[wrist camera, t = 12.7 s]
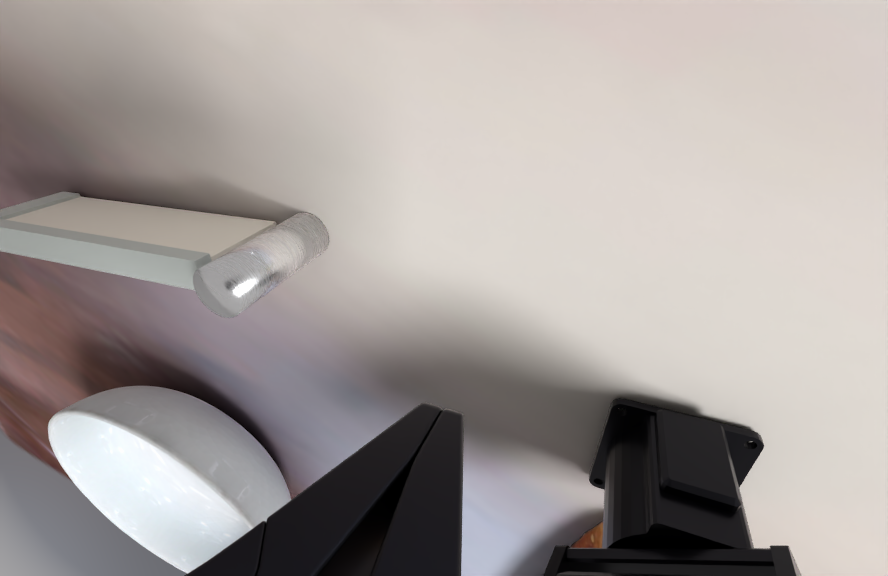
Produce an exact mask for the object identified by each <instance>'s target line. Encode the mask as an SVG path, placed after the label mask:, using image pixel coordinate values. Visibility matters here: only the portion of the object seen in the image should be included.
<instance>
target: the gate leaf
mask: <svg viewBox="0 0 888 576" xmlns="http://www.w3.org/2000/svg"><path fill="white" fill-rule="evenodd" d="M276 225H277V224H276V222H275V221H267V220H259V219H251V218H243V217H236V216H228V215H220V214H212V213H204V212H197V211H189V210H181V209H173V208H165V207H158V206H150V205H142V204H134V203H126V202H119V201H111V200H103V199H95V198H87V197H81V196H80V194H78V193H70V192H59V193H56V194H52V195H49V196H45V197H42V198H38V199H35V200H31V201H28V202H24V203H21V204H17V205H14V206H10V207H7V208H3V209H0V251H3V252H7V253H12V254H17V255H22V256H27V257H32V258H37V259H42V260H47V261H52V262H57V263H62V264H67V265H72V266H77V267H82V268H87V269H92V270H97V271H101V272H106V273H111V274H116V275H121V276H126V277H131V278H136V279H141V280H146V281H151V282H156V283H161V284H166V285H171V286H176V287H181V288H186V289H190V290H195V289H194V286H193V275H194V273H195V271H196V270H198V269H199V268H201V267H203V266H205V265H206V264H208V263H210V262H212V261H214V260H215V259H217V258H219V257H221V256H222V255H224V254H226V253H228V252H230V251H231V250H233V249H235V248H237V247H239V246H240V245H242V244H244V243H246V242H248V241H249V240H251V239H253V238H255V237H256V236H258V235H260V234H262V233H264V232H265V231H267V230H269V229H271V228H273V227H274V226H276Z"/></svg>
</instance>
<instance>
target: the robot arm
mask: <svg viewBox="0 0 888 576" xmlns="http://www.w3.org/2000/svg"><path fill="white" fill-rule="evenodd" d="M618 408H624V409H625V410H620V409H618ZM747 441H753V442H750V443H749V442H747ZM463 442H464V415H463V413H461V412H458V411H454V410H451V409H447V408H446V409H444V410H443V408H442V407H440V406H437V405H434V404H430V403H426V402H425V403H421V404H420V405H418V406H417V407H416V408H414V409H413V410H412V411H410V412H409V413H408V414H406V415H405V416H404V417H402V418H401V419H400V420H398V421H397V422H396V423H394V424H393V425H392V426H390V427H389V428H388V429H386V430H385V431H383V432H382V433H381V434H379V435H378V436H377V437H375V438H374V439H373V440H371V441H370V442H369V443H367V444H366V445H365V446H363V447H362V448H361V449H359V450H358V451H357V452H355V453H354V454H353V455H351V456H350V457H348V458H347V459H346V460H344V461H343V462H342V463H340V464H339V465H338V466H336V467H335V468H334V469H332V470H331V471H330V472H328V473H327V474H326V475H324V476H323V477H322V478H320V479H319V480H318V481H316V482H315V483H313V484H312V485H311V486H309V487H308V488H307V489H305V490H304V491H303V492H301V493H300V494H299V495H297V496H296V497H295V498H293V499H292V500H291V501H289V502H288V503H287V504H285V505H284V506H283V507H281V508H280V509H278V510H277V511H276V512H274V513H273V514H272V515H270V516H269V517H268V518H267V521H262V522H261V523H259V524H258V525H257V526H255V527H254V528H253V529H251V530H250V531H249V532H247V533H246V534H245V535H243V536H242V537H240V538H239V539H238V540H236V541H235V542H233V543H232V544H231V545H229V546H228V547H226V548H225V549H223V550H222V551H221V552H219V553H218V554H216V555H215V556H214V557H212V558H211V559H209V560H208V561H206V562H205V563H203V564H202V565H200V566H199V567H197V568H196V569H194V570H192V571H191V572H189V573H188V574H186V575H185V576H461V548H462V495H463ZM763 448H764V444H763V441H762V438H761V436H760V435H759V434H758V433H756V432H754V431H751V430H747V429H743V428H739V427H735V426H731V425H727V424H723V423H719V422H715V421H711V420H707V419H703V418H699V417H695V416H691V415H687V414H683V413H679V412H675V411H671V410H667V409H663V408H659V407H655V406H651V405H647V404H643V403H639V402H635V401H631V400H627V399H622V398H619V399H615V400H614V401H613V402H612V403H611V406H610V409H609V412H608V416H607V419H606V422H605V425H604V429H603V432H602V435H601V438H600V441H599V445H598V448H597V451H596V454H595V457H594V461H593V464H592V467H591V470H590V476H589V481H590V483H591V484H592V485H593V486H595V487H598V488H601V489H604V490H605V494H604V516H603V538H602V548H570V547H569V546H555V549H554V551H553V553H552V556H551V558H550V561H549V563H548V566H547V568H546V571H545V573H544V576H801V574H800V571H799V569H798V567H797V564H796V562H795V560H794V557H793V555H792V553H791V551H790V548H789V546H770V548H771V549H755V548H754V547H753V542H752V538H751V534H750V530H749V526H748V522H747V518H746V514H745V510H744V506H743V502H742V498H741V494H740V490H739V487H740V485H741V484H742V482H743V481H744V479H745V477H746V476H747V474H748V472H749V471H750V469H751V468H752V466H753V464H754V463H755V461H756V459H757V458H758V456H759V455H760V453H761V451H762V450H763Z"/></svg>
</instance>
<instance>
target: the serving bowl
mask: <svg viewBox="0 0 888 576" xmlns="http://www.w3.org/2000/svg"><path fill="white" fill-rule="evenodd" d="M48 435H49V440H50V444H51V447H52V449H53V451H54V453H55V455H56V457H57V459H58V461H59V462H60V464H61V466H62V467H63V469H64V470H65V471H66V473H67V474H68V476H69V477H70V478H71V480H72V481H73V482H74V484H75V485H76V486H77V487H78V488H79V490H81V492H82V493H83V494H84V495H85V496H86V497H87V498H88V499H89V500H90V501H91V502H92V503H93V504H94V505H95V506H96V507H97V508H98V509H99V510H100V511H101V512H102V513H103V514H104V515H105V516H106V517H107V518H108V519H109V520H110V521H112V522H113V523H114V524H115V525H116V526H117V527H118V528H120V529H121V530H122V531H123V532H125V533H126V534H127V535H129V536H130V537H131V538H133V539H134V540H135V541H137V542H138V543H140V544H141V545H142V546H144V547H145V548H146V549H148V550H149V551H151V552H153V553H154V554H155V555H157V556H158V557H160V558H162V559H163V560H165V561H166V562H168V563H170V564H171V565H173V566H175V567H177V568H178V569H180V570H182V571H184V572H186V573H189V572H191V571H192V570H194V569H196V568H197V567H199V566H200V565H202V564H203V563H205V562H206V561H208V560H209V559H211V558H212V557H214V556H215V555H216V554H218V553H219V552H221V551H222V550H223V549H225V548H226V547H228V546H229V545H231V544H232V543H233V542H235V541H236V540H238V539H239V538H240V537H242V536H243V535H245V534H246V533H247V532H249V531H250V530H251V529H253V528H254V527H255V526H257V525H258V524H259V523H261V522H262V521H267V518H268V517H269V516H270V515H272V514H273V513H274V512H276V511H277V510H278V509H280V508H281V507H283V506H284V505H285V504H287V503H288V502H289V501H291V497H290V493H289V490H288V487H287V485H286V482H285V480H284V478H283V476H282V474H281V472H280V470H279V468H278V466H277V465H276V463H275V462H274V460H273V459H272V458H271V456H270V455H269V454H268V452H267V451H266V450H265V449H264V447H263V446H262V445H261V444H260V443H259V442H258V441H257V440H256V439H255V438H254V437H253V436H252V435H251V434H250V433H249V432H248V431H247V430H246V429H244V428H243V427H242V426H241V425H240V424H238V423H237V422H236V421H235V420H233V419H232V418H231V417H229V416H228V415H226V414H225V413H223V412H222V411H220V410H219V409H217V408H215V407H214V406H212V405H210V404H208V403H206V402H204V401H202V400H200V399H198V398H196V397H193V396H191V395H188V394H186V393H183V392H179V391H176V390H172V389H168V388H162V387H155V386H127V387H120V388H115V389H110V390H106V391H103V392H100V393H97V394H94V395H92V396H89V397H87V398H85V399H83V400H80V401H78V402H76V403H75V404H73V405H71V406H69V407H67V408H65V409H63V410H61V411H59V412H57V413H56V414H55V415H54V416H53V417H52V418H51V420H50V421H49V424H48Z"/></svg>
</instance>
